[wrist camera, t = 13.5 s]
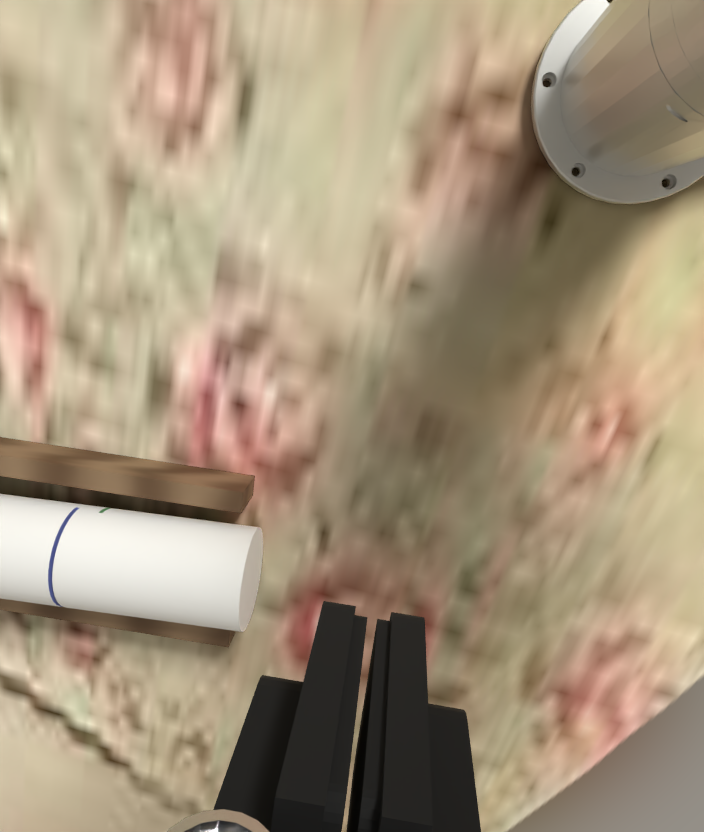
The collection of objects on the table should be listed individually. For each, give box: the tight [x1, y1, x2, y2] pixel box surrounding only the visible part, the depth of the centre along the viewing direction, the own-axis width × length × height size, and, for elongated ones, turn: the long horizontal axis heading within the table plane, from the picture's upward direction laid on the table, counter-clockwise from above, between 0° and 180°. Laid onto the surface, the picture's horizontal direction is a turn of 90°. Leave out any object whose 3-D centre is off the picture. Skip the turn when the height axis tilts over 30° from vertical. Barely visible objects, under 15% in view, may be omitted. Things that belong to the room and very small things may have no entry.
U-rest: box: [0, 437, 255, 647], centre depth 47 cm, size 28×12×5 cm, turn 82°
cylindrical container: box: [0, 494, 263, 632], centre depth 46 cm, size 7×7×25 cm
